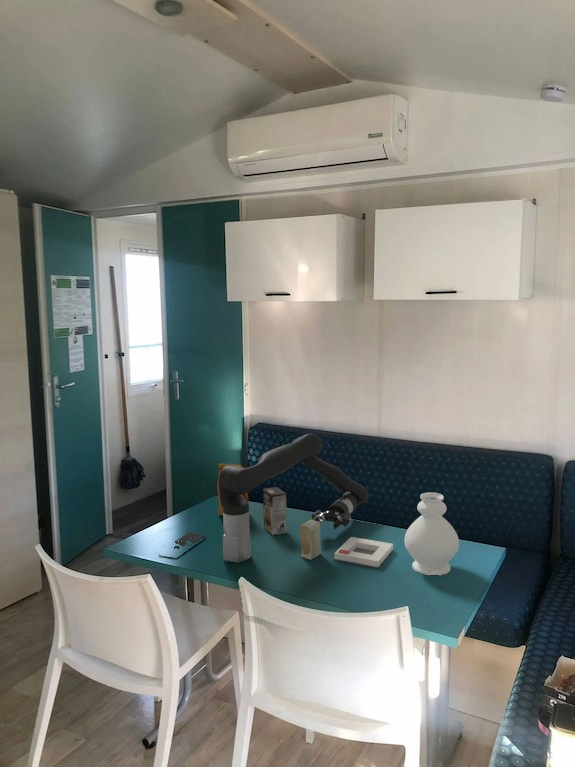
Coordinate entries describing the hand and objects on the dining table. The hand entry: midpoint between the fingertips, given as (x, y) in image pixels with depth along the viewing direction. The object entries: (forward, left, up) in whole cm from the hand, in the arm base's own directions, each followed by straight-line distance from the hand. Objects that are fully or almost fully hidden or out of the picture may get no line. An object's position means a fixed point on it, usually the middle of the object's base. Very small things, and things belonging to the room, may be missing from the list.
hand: (323, 524), depth 236 cm
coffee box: (+5, +23, -8) cm, 25 cm away
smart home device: (-23, +47, -8) cm, 53 cm away
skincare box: (-11, 0, -8) cm, 14 cm away
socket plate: (-3, -17, -7) cm, 19 cm away
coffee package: (+13, +47, -8) cm, 49 cm away
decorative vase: (-3, -41, -8) cm, 42 cm away
